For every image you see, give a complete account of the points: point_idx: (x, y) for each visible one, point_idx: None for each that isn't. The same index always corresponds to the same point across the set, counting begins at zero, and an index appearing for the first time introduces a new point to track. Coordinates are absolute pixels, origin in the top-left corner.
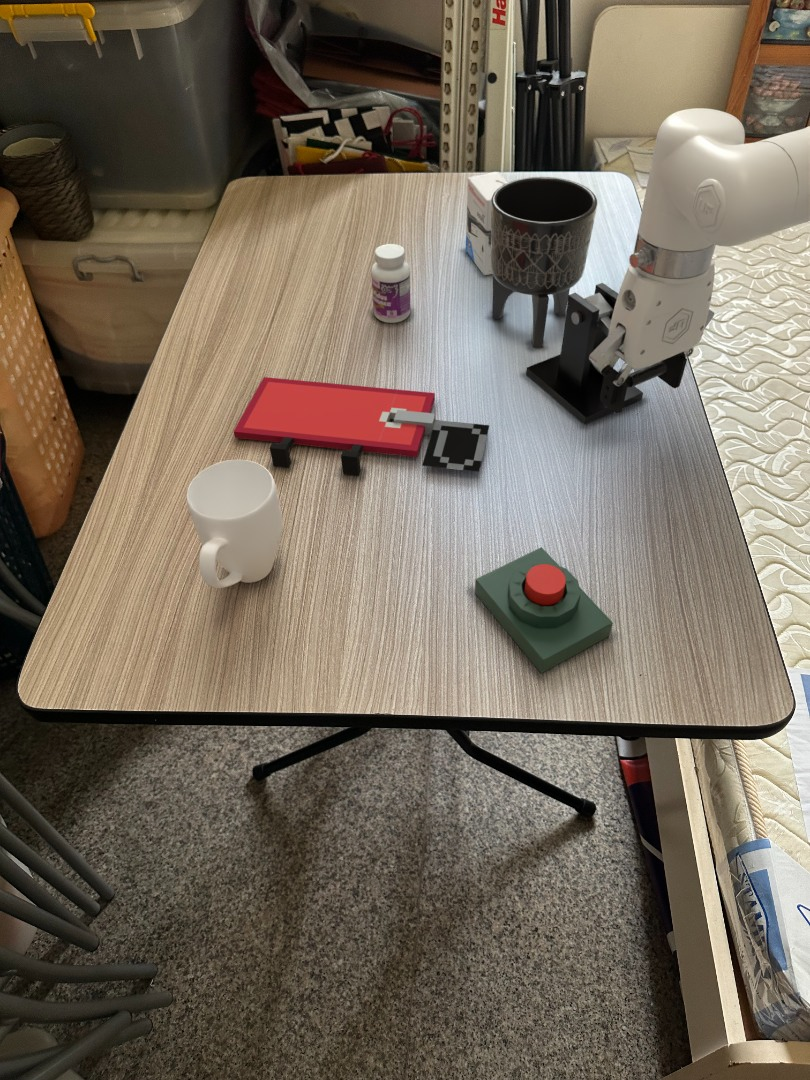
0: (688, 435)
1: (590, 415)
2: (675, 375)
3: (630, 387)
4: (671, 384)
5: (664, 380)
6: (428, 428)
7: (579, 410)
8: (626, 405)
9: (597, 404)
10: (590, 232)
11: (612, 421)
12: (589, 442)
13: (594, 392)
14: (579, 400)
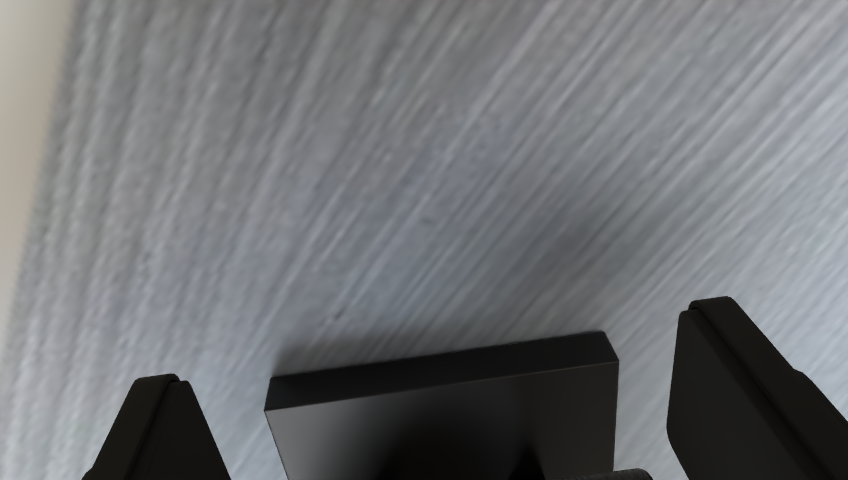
0: (162, 85)
1: (589, 365)
2: (158, 474)
3: (638, 468)
4: (191, 409)
5: (214, 451)
6: None
7: (611, 403)
8: (363, 371)
9: (512, 410)
10: None
11: (476, 311)
12: (665, 233)
13: (472, 469)
14: (564, 450)
